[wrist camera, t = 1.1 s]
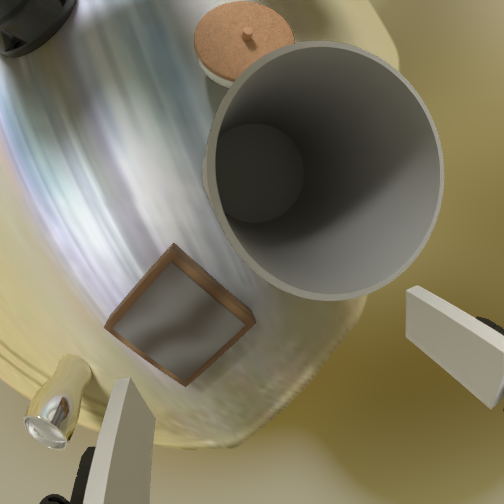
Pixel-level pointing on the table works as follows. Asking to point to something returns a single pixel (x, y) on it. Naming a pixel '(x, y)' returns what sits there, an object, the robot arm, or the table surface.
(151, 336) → the walnut stand
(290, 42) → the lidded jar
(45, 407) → the beer glass
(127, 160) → the table surface
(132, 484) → the robot arm
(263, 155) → the cylinder vase
